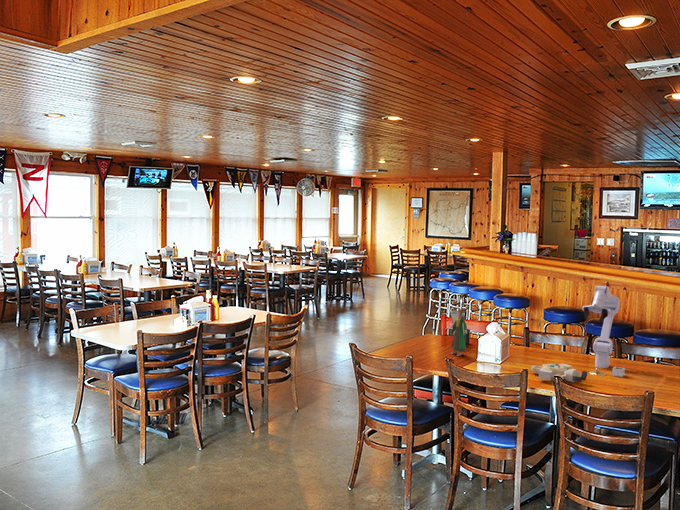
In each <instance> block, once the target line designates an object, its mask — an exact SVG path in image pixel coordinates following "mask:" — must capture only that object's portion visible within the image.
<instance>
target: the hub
mask: <svg viewBox="0 0 680 510" xmlns="http://www.w3.org/2000/svg"><path fill="white" fill-rule="evenodd" d="M600 369H601V368H600V367H595V370H590V371H588V373H589V374H590V375H592V376H597V377H598V376H599V377H604V376H607V373H606V372H603V371H600Z"/></svg>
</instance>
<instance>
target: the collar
mask: <svg viewBox="0 0 680 510" xmlns="http://www.w3.org/2000/svg"><path fill="white" fill-rule="evenodd" d="M625 372H626V368H625V367H622V366H621V367H620V366H613V367H612V371H611V376H613V377H618V378H619V377H620V378H623V377H625V375H626V373H625Z"/></svg>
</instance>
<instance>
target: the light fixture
mask: <svg viewBox="0 0 680 510" xmlns="http://www.w3.org/2000/svg"><path fill="white" fill-rule="evenodd" d="M457 311H458V310H450V312H449V314H450V318H451V320H452V325H453V324H454V322H455V321H456V317H457ZM462 313H464V312H462ZM462 317H463V318H464V320H465V321H466V319H465V315H464V314H463V316H462ZM454 333H455V331H454V332H453V338H454ZM463 333H464V339H465V345H467V344H470V343H471V342H470V340H471V329H469V328H467V334H466V337H465V328H464V323H463Z"/></svg>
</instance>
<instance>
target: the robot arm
mask: <svg viewBox="0 0 680 510" xmlns="http://www.w3.org/2000/svg"><path fill="white" fill-rule="evenodd" d="M620 304H621V301H620V298H618V296H616V295H614V294H611V292H610V288H609V286H606V285H605V286H604V285H597V286H595V287H594V297H593V300H592V304H590V305H582V307H581V309H582V311H583V313H584V321H585V322H587V321H588V318H589V315H590V312H592V313H596V314H600V317H599V323H600V324H601V323H602V322H603V323H602V328H601V333H600V336H599V337H597V338H595V339H594V342H593V345H592V351H593V352H594V354H595V358H594V359H595V361H594V365H595V368H600V369H608V368H609V367H610V359H611V358H610V355H611V354H612V353H613V347H614V346H613V345H614V342H613V341H612V340H611V339H610V335H611V329H612V325H613V320H614V317H615V315H616V314H618V313H619V311H620V306H621V305H620Z"/></svg>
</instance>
